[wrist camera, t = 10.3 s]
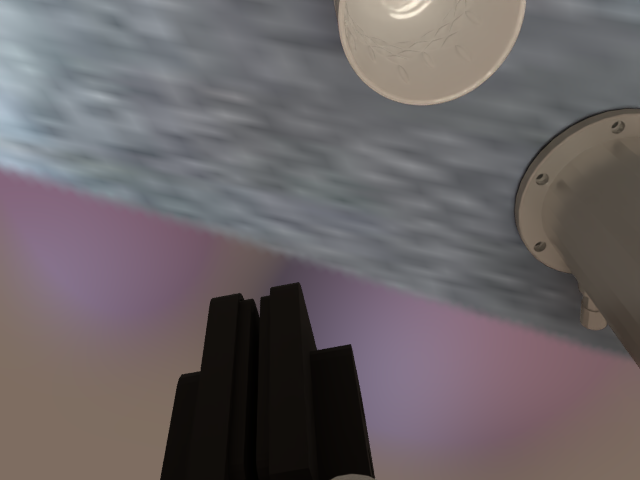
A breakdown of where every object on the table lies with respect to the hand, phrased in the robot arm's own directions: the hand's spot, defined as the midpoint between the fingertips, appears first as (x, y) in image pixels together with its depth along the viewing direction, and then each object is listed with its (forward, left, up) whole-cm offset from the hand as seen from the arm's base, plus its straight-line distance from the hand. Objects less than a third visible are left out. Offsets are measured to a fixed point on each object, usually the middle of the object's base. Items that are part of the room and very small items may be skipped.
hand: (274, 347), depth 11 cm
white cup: (+1, -7, -27) cm, 28 cm away
